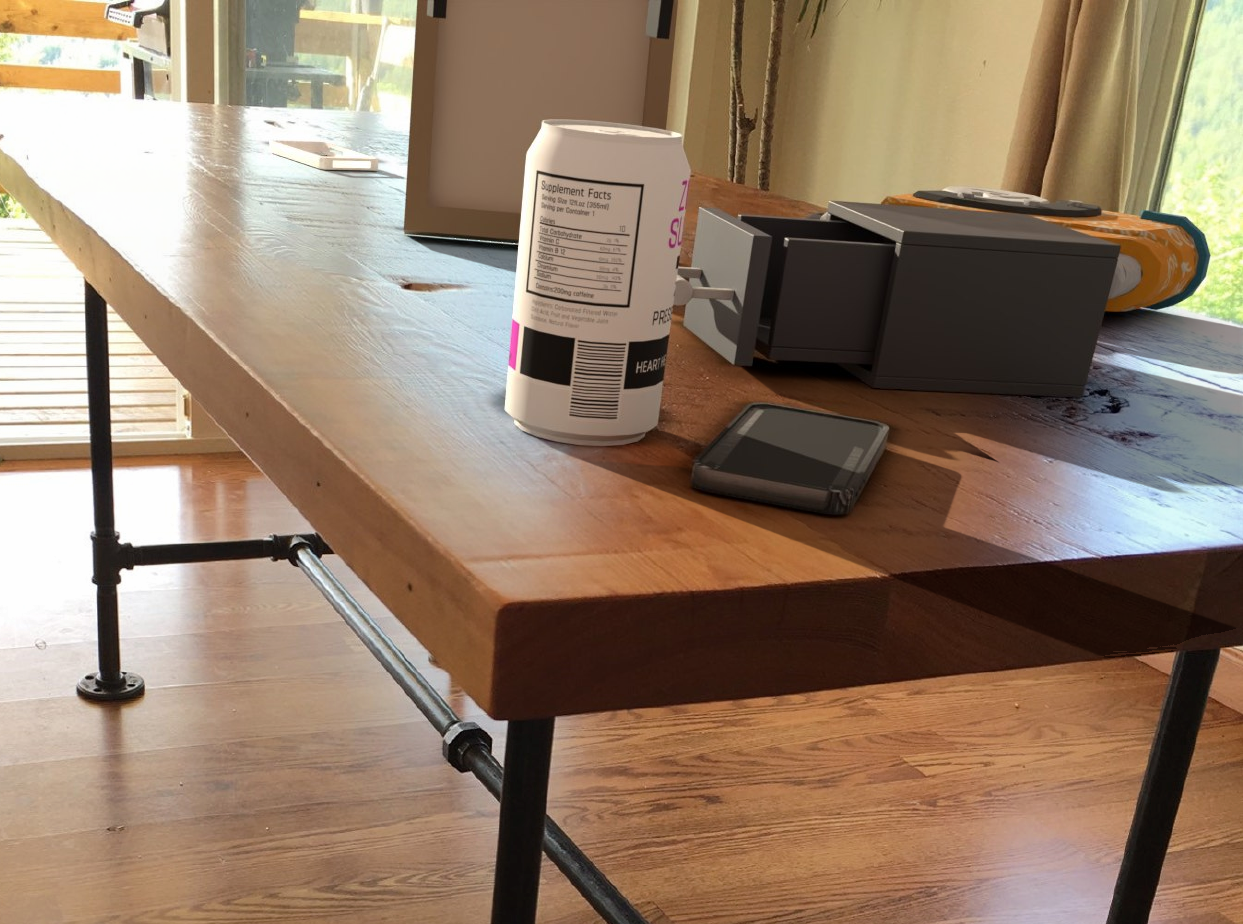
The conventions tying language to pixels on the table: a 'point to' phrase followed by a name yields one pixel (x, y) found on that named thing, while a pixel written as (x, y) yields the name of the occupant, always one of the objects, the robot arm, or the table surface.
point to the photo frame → (518, 99)
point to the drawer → (785, 288)
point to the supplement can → (595, 280)
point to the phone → (792, 458)
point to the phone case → (310, 151)
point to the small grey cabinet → (985, 301)
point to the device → (1150, 244)
